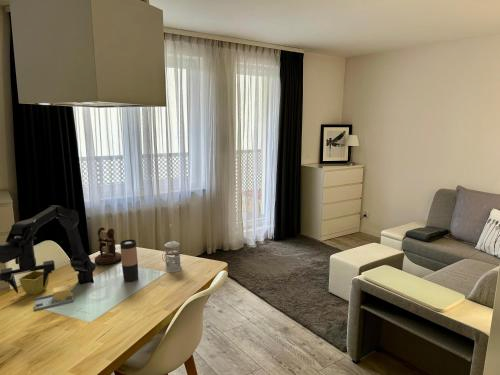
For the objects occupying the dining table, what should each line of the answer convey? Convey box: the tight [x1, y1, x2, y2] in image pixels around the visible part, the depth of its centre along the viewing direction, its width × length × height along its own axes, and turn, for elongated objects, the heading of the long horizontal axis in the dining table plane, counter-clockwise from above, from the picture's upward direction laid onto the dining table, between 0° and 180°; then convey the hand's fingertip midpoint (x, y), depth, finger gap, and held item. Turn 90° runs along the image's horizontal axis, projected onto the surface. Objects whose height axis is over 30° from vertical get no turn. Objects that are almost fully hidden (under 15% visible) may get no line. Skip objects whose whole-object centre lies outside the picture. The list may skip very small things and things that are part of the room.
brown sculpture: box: [94, 227, 121, 266], centre depth 200 cm, size 15×15×20 cm
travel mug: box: [119, 239, 139, 283], centre depth 176 cm, size 8×8×20 cm
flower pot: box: [18, 270, 50, 296], centre depth 163 cm, size 9×9×9 cm
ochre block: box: [52, 284, 72, 300], centre depth 158 cm, size 7×5×4 cm
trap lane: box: [34, 289, 75, 311], centre depth 156 cm, size 15×11×1 cm
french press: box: [161, 224, 183, 273], centre depth 187 cm, size 10×12×25 cm
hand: (30, 289), depth 142 cm, fingers open, 9 cm apart
